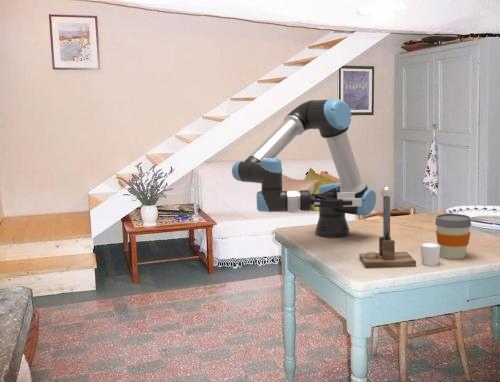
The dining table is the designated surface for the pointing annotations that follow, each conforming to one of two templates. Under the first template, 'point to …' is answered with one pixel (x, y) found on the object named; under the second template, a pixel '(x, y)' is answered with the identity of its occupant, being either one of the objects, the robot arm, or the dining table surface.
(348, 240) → the dining table surface
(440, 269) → the dining table surface
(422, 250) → the white cylinder
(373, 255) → the lever stand
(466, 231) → the reusable coffee cup
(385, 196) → the lever
